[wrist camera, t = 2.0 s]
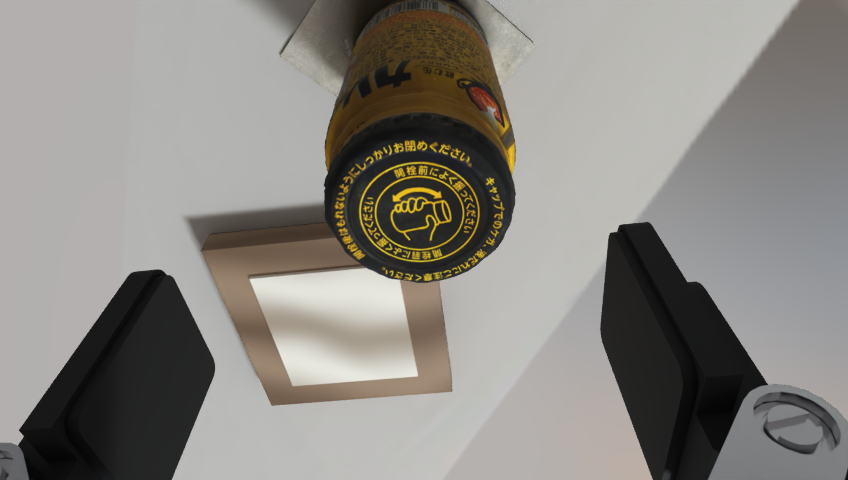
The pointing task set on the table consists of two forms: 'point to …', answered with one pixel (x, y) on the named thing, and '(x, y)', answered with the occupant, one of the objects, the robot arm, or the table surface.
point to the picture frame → (327, 318)
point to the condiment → (415, 129)
